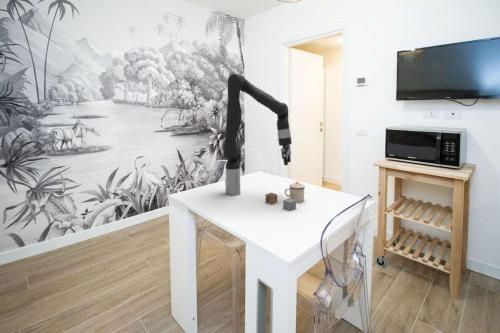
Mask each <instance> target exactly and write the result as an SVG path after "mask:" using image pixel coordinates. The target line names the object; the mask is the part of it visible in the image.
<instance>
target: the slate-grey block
mask: <svg viewBox="0 0 500 333" xmlns="http://www.w3.org/2000/svg"><path fill="white" fill-rule="evenodd" d="M282 202H283V204H282V208H283V210H286V211H288V212H291V211H293V210H296V209H297V207H296V206H297V202H296V200H293V199H290V197H289V198H286V199H283V200H282Z"/></svg>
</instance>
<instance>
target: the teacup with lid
mask: <svg viewBox="0 0 500 333" xmlns="http://www.w3.org/2000/svg"><path fill="white" fill-rule="evenodd" d="M287 191H289V194H287ZM284 194H285V196H286V197H289V198H290V199H293V200H296V203H302V202H304V201H305V185H304V184H302V183H300V181H298V180H297V181H295V182H294V183H291V184H290V185H289V188H286V189H285V190H284Z"/></svg>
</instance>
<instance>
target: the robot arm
mask: <svg viewBox="0 0 500 333" xmlns="http://www.w3.org/2000/svg"><path fill="white" fill-rule="evenodd" d="M242 92H243V93H245V94H247V95H249V96H250V97H251V98H253V100H255V101H256V102H258V104H260V105H262V106H264V107H266V108H268V110H270V111H271V112H273V114H275V115H277V117H276V118H277V121H276V128H277V129H276V130H277V139H278V140H277V141H278V145H279V146H282V147H281V149H280V152H281V159H283V165H284V166H288V165H289V163H291V162H292V160H291V154H292V153H291V152H292V151H291V145H292V136H291V135H292V134H291V129H290V123H289V107H288V105H287V104H286V103H285V102H280V101H279V100H277V99H276V98H275V97H273V96H272V95H270V94H269V93H267V92H266V91H264V90H263V89H261V88H259V87H257V86H255V85H254V84H252V83H251V82H250V81H249V80H248V79H246V77H244V76H243V75H242V74H239V73H231V74H230V75H229V76H228V78H227V103H226V104H227V105H226V118H225V119H226V120H225V121H226V122H225V123H226V124H225V137H224V144H223V155H224V157H225V158H226V159H227V161H226V163H225V180H224V181H225V193H226V194H227V196H238V195H240V194H241V163H242V150H241V147H240V145H239V144H238V142H237V137H238V134H239V131H240V127H241V125H242V115H243V114H242V113H243V112H242V106H241V102H240V95H241V94H240V93H242Z"/></svg>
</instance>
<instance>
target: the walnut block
mask: <svg viewBox="0 0 500 333" xmlns="http://www.w3.org/2000/svg"><path fill="white" fill-rule="evenodd" d="M265 203H266V204H270V205H273V204H276V203H278V194H277V193H274V192H268V193H266V194H265Z"/></svg>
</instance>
